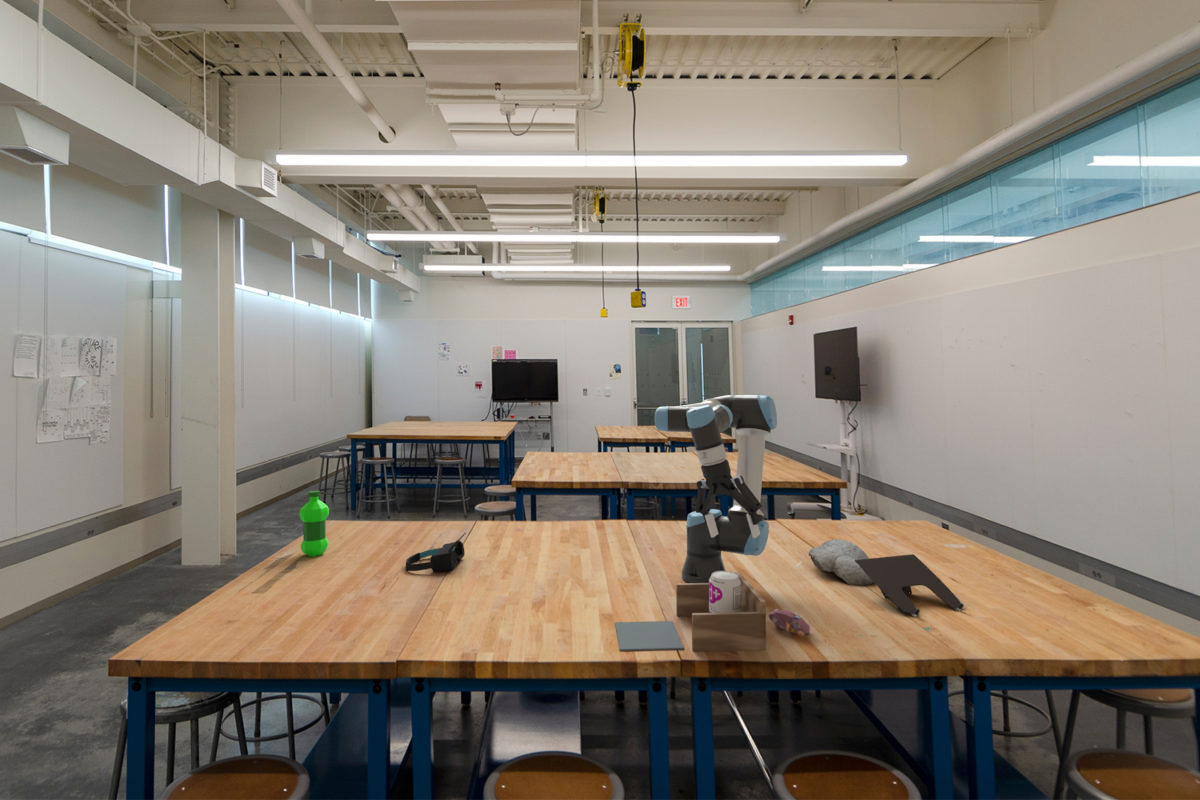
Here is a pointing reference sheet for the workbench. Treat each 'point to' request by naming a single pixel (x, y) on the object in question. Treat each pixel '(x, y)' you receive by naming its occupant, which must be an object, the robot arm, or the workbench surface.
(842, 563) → the grey rock
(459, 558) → the virtual reality headset
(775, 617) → the video game controller
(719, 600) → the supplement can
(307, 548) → the plastic bottle
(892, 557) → the portable electronic device stand
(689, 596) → the wooden u-shaped enclosure
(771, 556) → the workbench surface
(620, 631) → the mat
